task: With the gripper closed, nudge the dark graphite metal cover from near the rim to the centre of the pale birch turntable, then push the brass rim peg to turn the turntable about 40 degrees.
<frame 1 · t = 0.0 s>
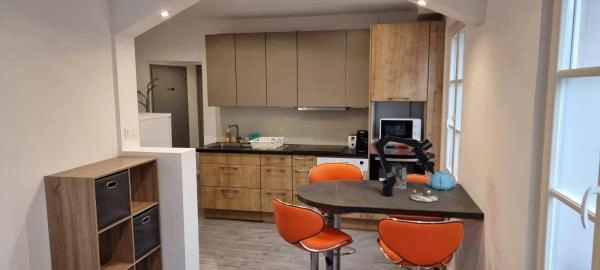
hand: (431, 173, 278), 15 cm above the counter, tool tilted 35°, fingers open, 9 cm apart
decorative pot: (441, 189, 295), on the counter
cover: (427, 195, 269), point 2 cm above the counter, touching turntable
coffee box: (399, 188, 298), on the counter
turntable: (423, 195, 266), point 3 cm above the counter, hinge at 0.0°, touching cover
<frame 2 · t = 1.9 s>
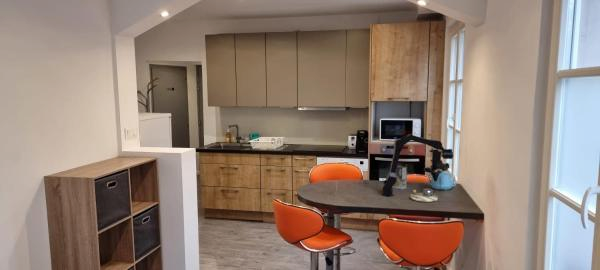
hand: (435, 181, 272), 11 cm above the counter, tool pointing down, fingers closed
nothing on the counter moved.
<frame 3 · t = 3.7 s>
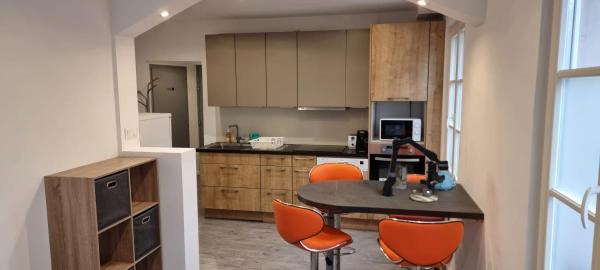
hand: (431, 192, 271), 3 cm above the counter, tool pointing down, fingers closed
cover: (427, 195, 268), point 2 cm above the counter, touching gripper
turntable: (423, 195, 266), point 3 cm above the counter, hinge at 0.0°
everything else where it was.
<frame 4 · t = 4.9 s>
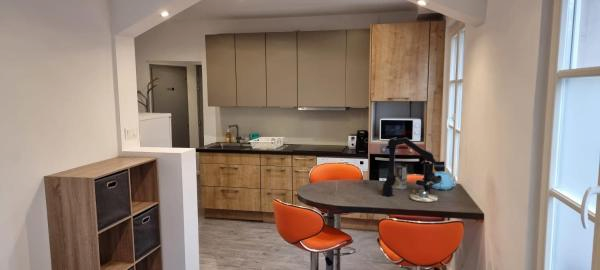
hand: (427, 193, 268), 3 cm above the counter, tool pointing down, fingers closed
cover: (423, 196, 265), point 2 cm above the counter, touching gripper, turntable
turntable: (423, 195, 266), point 3 cm above the counter, hinge at 0.0°, touching cover
everything else where it was.
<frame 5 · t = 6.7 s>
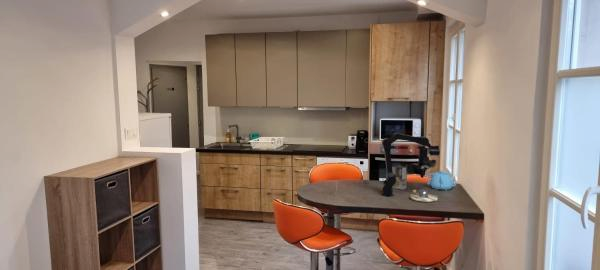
hand: (422, 177, 273), 13 cm above the counter, tool pointing down, fingers closed
cover: (423, 196, 265), point 2 cm above the counter, touching turntable
everything else where it was.
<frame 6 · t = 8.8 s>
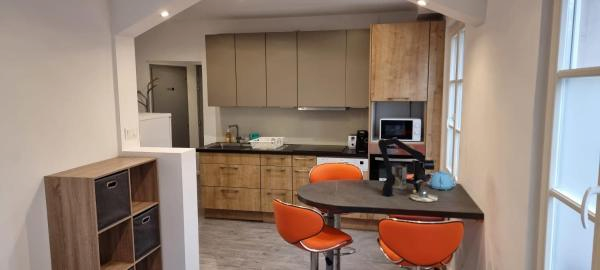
hand: (417, 191, 272), 3 cm above the counter, tool pointing down, fingers closed
turntable: (423, 195, 266), point 3 cm above the counter, hinge at 0.7°, touching cover, gripper
everything else where it was.
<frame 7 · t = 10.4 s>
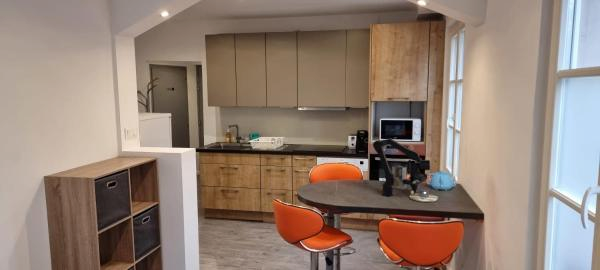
hand: (414, 192, 269), 4 cm above the counter, tool pointing down, fingers closed
turntable: (423, 195, 266), point 3 cm above the counter, hinge at 31.7°, touching cover, gripper
everything else where it was.
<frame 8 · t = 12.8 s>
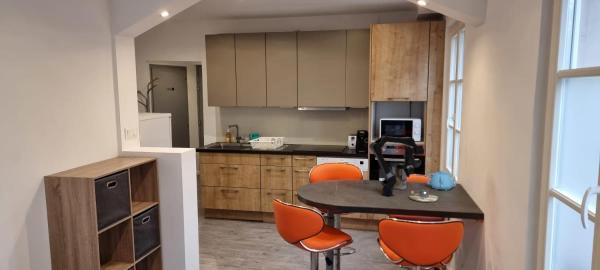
hand: (408, 177, 278), 12 cm above the counter, tool pointing down, fingers closed
turntable: (423, 195, 266), point 3 cm above the counter, hinge at 31.7°, touching cover
everything else where it was.
at the end: cover 0.6 cm from the turntable (horizontally); turntable at +32° (first picture: +0°); cover tilted 0° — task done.
